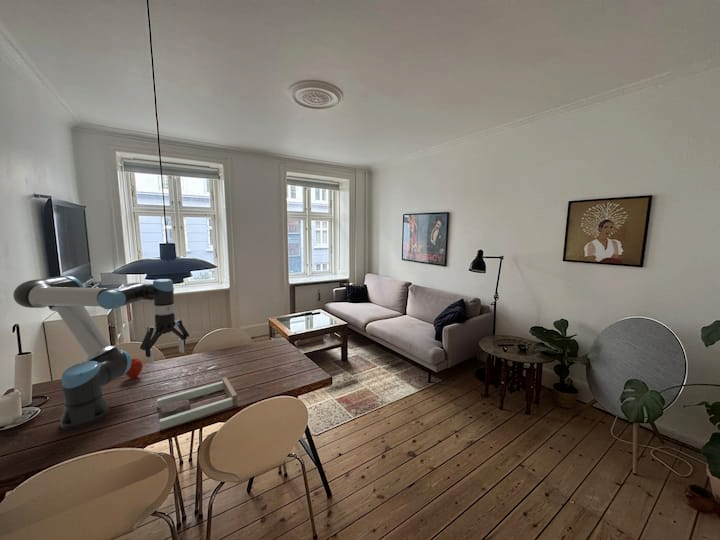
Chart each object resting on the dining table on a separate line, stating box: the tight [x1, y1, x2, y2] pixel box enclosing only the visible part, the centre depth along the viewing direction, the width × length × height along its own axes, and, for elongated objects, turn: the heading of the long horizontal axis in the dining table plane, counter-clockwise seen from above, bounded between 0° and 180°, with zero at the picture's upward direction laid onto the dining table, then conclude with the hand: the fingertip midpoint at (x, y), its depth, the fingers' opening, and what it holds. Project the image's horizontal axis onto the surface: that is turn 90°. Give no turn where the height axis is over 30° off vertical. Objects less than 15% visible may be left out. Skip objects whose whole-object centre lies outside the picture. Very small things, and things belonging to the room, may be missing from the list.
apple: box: [125, 358, 143, 379], centre depth 157 cm, size 9×8×11 cm
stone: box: [158, 399, 192, 420], centre depth 129 cm, size 12×9×5 cm
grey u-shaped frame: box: [156, 376, 238, 430], centre depth 135 cm, size 30×20×5 cm, turn 128°
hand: (166, 357), depth 134 cm, fingers open, 13 cm apart
